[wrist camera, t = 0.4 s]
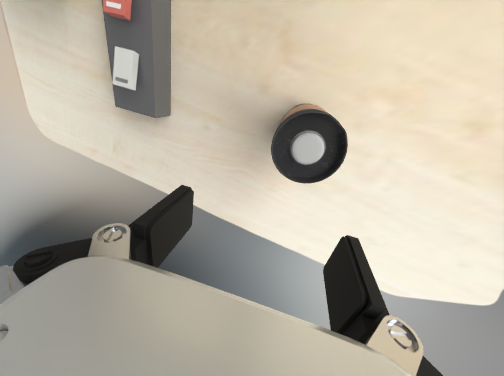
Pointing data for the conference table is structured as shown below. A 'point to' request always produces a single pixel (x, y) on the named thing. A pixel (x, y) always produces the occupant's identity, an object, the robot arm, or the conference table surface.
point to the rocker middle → (118, 8)
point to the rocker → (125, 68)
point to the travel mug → (308, 144)
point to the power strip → (144, 55)
